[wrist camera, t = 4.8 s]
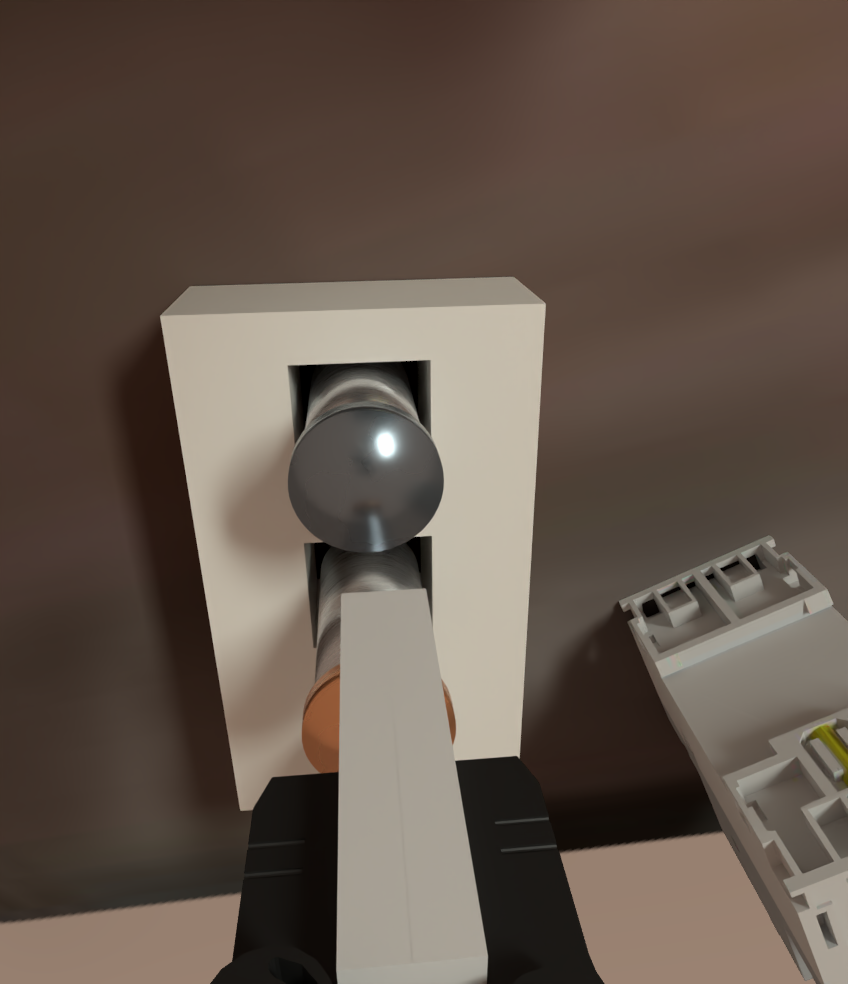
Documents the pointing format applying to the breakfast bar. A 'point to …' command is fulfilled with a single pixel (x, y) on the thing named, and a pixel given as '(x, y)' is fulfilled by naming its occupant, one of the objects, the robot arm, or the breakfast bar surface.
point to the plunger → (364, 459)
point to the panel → (290, 546)
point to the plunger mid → (323, 699)
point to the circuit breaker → (764, 731)
